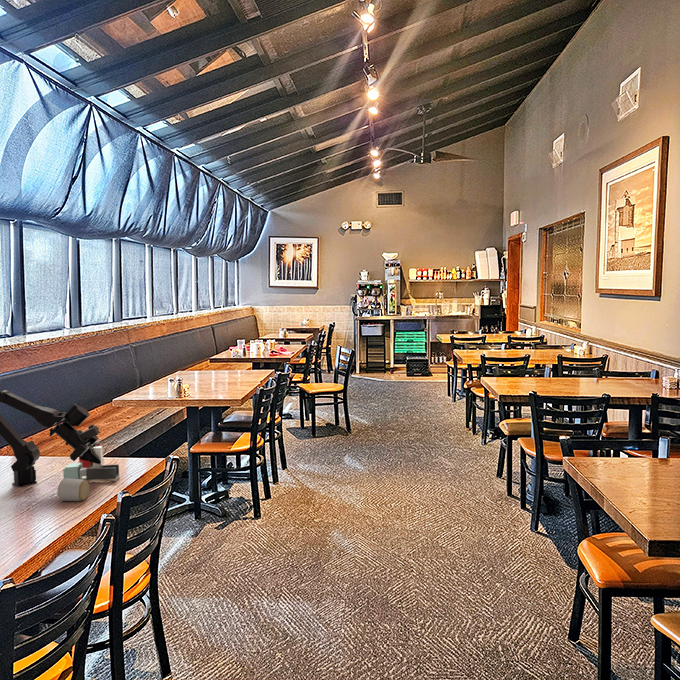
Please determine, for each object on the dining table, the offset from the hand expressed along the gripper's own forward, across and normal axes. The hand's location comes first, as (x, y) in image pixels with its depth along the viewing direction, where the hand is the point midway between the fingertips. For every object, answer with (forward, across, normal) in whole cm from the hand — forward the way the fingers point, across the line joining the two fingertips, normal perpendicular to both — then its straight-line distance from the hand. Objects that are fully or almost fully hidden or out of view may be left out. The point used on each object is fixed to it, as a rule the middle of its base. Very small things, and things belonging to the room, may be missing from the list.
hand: (101, 462), depth 222 cm
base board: (+2, 0, +8) cm, 8 cm away
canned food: (-2, +18, +12) cm, 22 cm away
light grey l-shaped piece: (-1, 0, +8) cm, 8 cm away
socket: (-3, 0, +12) cm, 12 cm away
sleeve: (+4, 0, +4) cm, 6 cm away
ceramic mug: (+3, -21, +8) cm, 22 cm away
